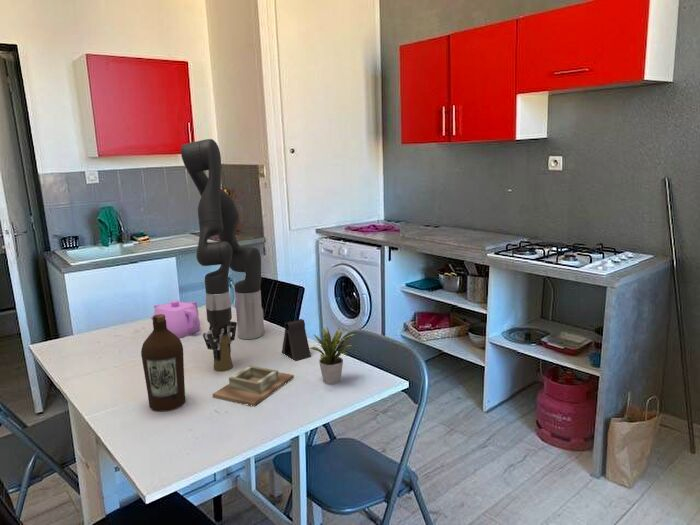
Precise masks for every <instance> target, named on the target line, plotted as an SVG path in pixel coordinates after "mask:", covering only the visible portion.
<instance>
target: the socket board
mask: <svg viewBox="0 0 700 525" xmlns="http://www.w3.org/2000/svg"><path fill="white" fill-rule="evenodd" d="M294 376H295V375H294V374H292V373H291V374H290V373H287V372H286V373H284V372H280V371H279V370H276V369H272V368H271V369H270V368H267V367H260V366H255V365H249V366H247V367H245V368H243V369H242V370H240V371H239V372H237V373H235V374H233V375H232V376H230V377H229V378H228V384H226V385H225V386H222V387H221V388H220V389H219V390H217V391H215V392H214V393H212V398H213V399H218V400H222V399H223V401H227V400H228V402H231V401H232V403H235V402H237V403H236V404H240V403H241V404H240V405H244V404H248V405H252V406H251V407H253V406H254V405H256V404H257V403H258V404H260V403H261V402H262V400H263V399H264V400H265V399H267V398H268V397H269V395H270V394H271V393H272V394H274V393H275V392H276V391H277V389H278V388H279V389H281V388H282V387H283V386H285V385H286V384H288V383H289V382H290V381H292V380H293V379H294ZM292 378H293V379H292ZM291 379H292V380H291ZM288 381H289V382H288ZM285 383H286V384H285ZM284 384H285V385H284ZM281 386H282V387H281ZM280 387H281V388H280ZM279 389H278V390H279ZM275 390H276V391H275ZM274 391H275V392H274ZM273 392H274V393H273ZM272 394H271V395H272ZM271 395H270V396H271ZM267 396H268V397H267ZM266 397H267V398H266ZM264 400H263V401H264ZM260 401H261V402H260ZM259 402H260V403H259ZM258 404H257V405H258ZM248 405H247V406H248ZM257 405H256V406H257ZM254 407H255V406H254Z"/></svg>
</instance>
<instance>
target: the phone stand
mask: <svg viewBox="0 0 700 525" xmlns="http://www.w3.org/2000/svg"><path fill="white" fill-rule="evenodd" d="M306 331H307V330H306V323H305V320H304V319H302V318H299V319H298V318H297V319H294V320H290V321H286V322H285V323H284V335H283V340H282V341H283V342H282V346H281V347H282V348H281V349H282V350H281V353H283V354H282V355H284V354H285V355H286V356H285V355H284V356H285V357H287V356H288V357H287V358H289V359H290V358H291V360H292V359H293V360H292V361H294V360H295V361H294V362H297V361H300V360H304V359H307V358H311V357H312V356H311V349H310V345H309V340H308V337H307V332H306Z"/></svg>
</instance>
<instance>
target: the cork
mask: <svg viewBox="0 0 700 525" xmlns="http://www.w3.org/2000/svg"><path fill="white" fill-rule="evenodd" d="M214 339H215V340H218V339H219V338H215V337H214ZM229 341H230V338H229V336H228V335H227V334H225V335H223V337H222V341H221V342H220V349H221V360H220V361H215V360H214V359H213V370H214V371H216V372H226V370H227V371H230V370H231V369H233V368H232V367H233V366H234V365H233V362H232V355H230V350H229V346H228V343H229ZM214 343H215V345H216V346H217V342H214ZM229 369H230V370H229Z"/></svg>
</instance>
